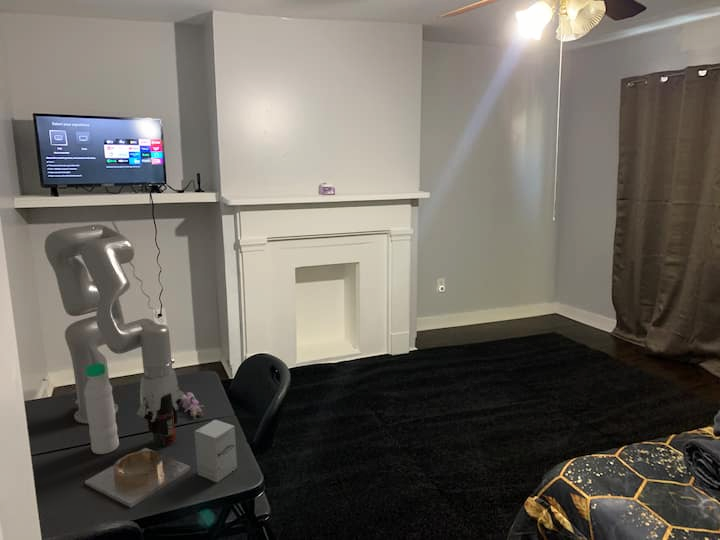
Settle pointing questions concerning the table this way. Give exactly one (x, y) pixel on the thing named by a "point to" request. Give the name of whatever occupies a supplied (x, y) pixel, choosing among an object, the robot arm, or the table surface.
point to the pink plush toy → (192, 405)
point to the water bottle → (100, 411)
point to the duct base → (140, 490)
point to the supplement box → (215, 450)
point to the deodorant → (165, 423)
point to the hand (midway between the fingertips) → (163, 426)
